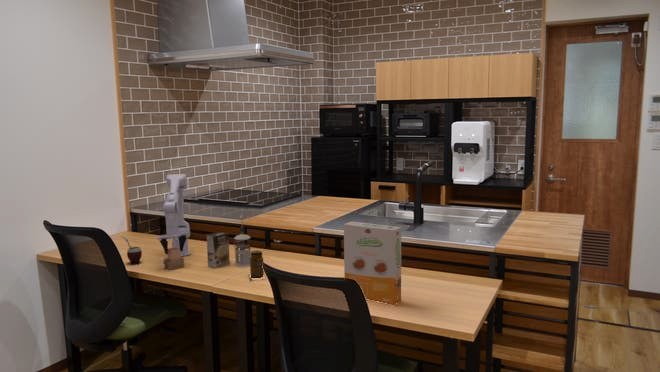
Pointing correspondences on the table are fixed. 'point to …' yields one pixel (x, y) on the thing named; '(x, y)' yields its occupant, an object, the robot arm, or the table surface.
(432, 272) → the table surface
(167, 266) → the tower base
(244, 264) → the french press
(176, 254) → the block
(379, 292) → the cereal box
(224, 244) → the coffee box
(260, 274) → the condiment
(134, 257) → the mate gourd
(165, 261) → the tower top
